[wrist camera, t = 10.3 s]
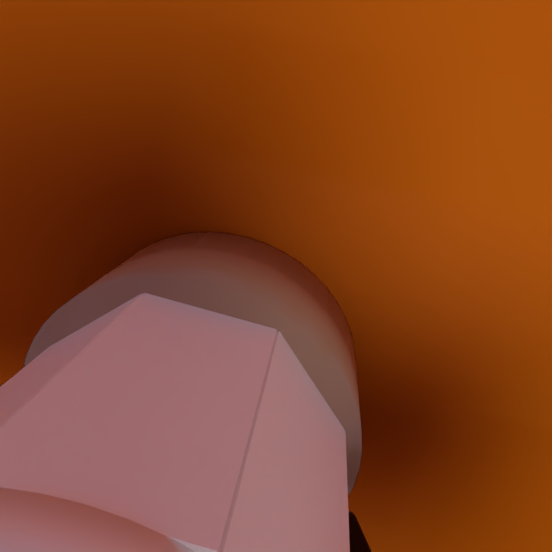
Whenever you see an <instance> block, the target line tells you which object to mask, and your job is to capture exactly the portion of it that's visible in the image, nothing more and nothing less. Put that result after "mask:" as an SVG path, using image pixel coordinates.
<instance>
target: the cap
mask: <svg viewBox="0 0 552 552" xmlns="http://www.w3.org/2000/svg"><path fill="white" fill-rule="evenodd" d="M0 552H350V543H349V514H348V485H347V457H346V433H345V430H344V428H343V427H342V425H341V424H340V422H339V420H338V419H337V417H336V416H335V414H334V413H333V411H332V410H331V408H330V407H329V405H328V404H327V402H326V401H325V399H324V398H323V396H322V395H321V393H320V392H319V390H318V389H317V387H316V386H315V384H314V383H313V381H312V380H311V378H310V377H309V375H308V374H307V372H306V371H305V369H304V368H303V366H302V364H301V363H300V361H299V360H298V358H297V357H296V355H295V354H294V352H293V351H292V349H291V348H290V346H289V345H288V343H287V342H286V340H285V339H284V337H283V336H282V334H281V333H280V331H278V332H277V329H274V328H271V327H267V326H263V325H260V324H256V323H252V322H249V321H245V320H242V319H238V318H234V317H231V316H227V315H224V314H220V313H216V312H213V311H209V310H206V309H202V308H198V307H195V306H191V305H188V304H184V303H180V302H177V301H173V300H170V299H166V298H162V297H159V296H155V295H151V294H148V293H144V294H143V293H141V294H139V295H138V296H136V297H134V298H132V299H131V300H129V301H127V302H126V303H124V304H122V305H120V306H119V307H117V308H115V309H113V310H112V311H110V312H108V313H107V314H105V315H103V316H101V317H100V318H98V319H96V320H94V321H93V322H91V323H89V324H88V325H86V326H84V327H82V328H81V329H79V330H77V331H75V332H74V333H72V334H70V335H69V336H67V337H65V338H63V339H62V340H60V341H58V342H56V343H55V344H53V345H51V346H50V347H48V348H47V349H46V350H45V351H43V352H42V353H41V354H40V355H38V356H37V357H36V358H35V359H34V360H32V361H31V362H30V363H29V364H28V365H26V366H25V367H24V368H23V369H21V370H20V371H19V372H18V373H17V374H15V375H14V376H13V377H12V378H10V379H9V380H8V381H7V382H6V383H4V384H3V385H2V386H1V387H0Z"/></svg>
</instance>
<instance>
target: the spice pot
mask: <svg viewBox="0 0 552 552" xmlns="http://www.w3.org/2000/svg"><path fill="white" fill-rule="evenodd" d="M141 293H143V294H144V293H148V294H151V295H155V296H159V297H162V298H166V299H170V300H173V301H177V302H180V303H184V304H188V305H191V306H195V307H198V308H202V309H206V310H209V311H213V312H216V313H220V314H224V315H227V316H231V317H234V318H238V319H242V320H245V321H249V322H252V323H256V324H260V325H263V326H267V327H271V328H274V329H277V332H278V331H280V333H281V334H282V336H283V337H284V339H285V340H286V342H287V343H288V345H289V346H290V348H291V349H292V351H293V352H294V354H295V355H296V357H297V358H298V360H299V361H300V363H301V364H302V366H303V368H304V369H305V371H306V372H307V374H308V375H309V377H310V378H311V380H312V381H313V383H314V384H315V386H316V387H317V389H318V390H319V392H320V393H321V395H322V396H323V398H324V399H325V401H326V402H327V404H328V405H329V407H330V408H331V410H332V411H333V413H334V414H335V416H336V417H337V419H338V420H339V422H340V424H341V425H342V427H343V428H344V430H345V433H346V457H347V485H348V495H349V494H350V492H351V490H352V488H353V486H354V484H355V481H356V478H357V475H358V472H359V469H360V462H361V455H362V430H361V418H360V407H359V395H358V383H357V371H356V359H355V350H354V344H353V339H352V335H351V332H350V329H349V326H348V323H347V320H346V318H345V316H344V314H343V312H342V310H341V308H340V306H339V304H338V303H337V301H336V300H335V299H334V297H333V296H332V294H331V293H330V292H329V290H328V289H327V288H326V287H325V286H324V284H323V283H322V282H321V281H320V280H319V279H318V278H317V277H316V276H315V275H314V274H313V273H312V272H311V271H309V270H308V269H307V268H306V267H305V266H303V265H302V264H301V263H300V262H298V261H297V260H295V259H293V258H292V257H290V256H289V255H287V254H286V253H284V252H282V251H280V250H278V249H276V248H274V247H272V246H270V245H267V244H265V243H262V242H259V241H256V240H253V239H250V238H247V237H243V236H238V235H233V234H228V233H215V232H200V233H188V234H183V235H178V236H173V237H169V238H166V239H164V240H161V241H158V242H155V243H153V244H151V245H149V246H147V247H146V248H144V249H142V250H140V251H138V252H137V253H136V254H134V255H133V256H131V257H130V258H129V259H127V260H126V261H124V262H123V263H121V264H120V265H119V266H117V267H116V268H114V269H113V270H112V271H110V272H109V273H107V274H106V275H105V276H103V277H102V278H100V279H99V280H97V281H96V282H95V283H93V284H92V285H90V286H89V287H88V288H86V289H85V290H83V291H82V292H81V293H79V294H78V295H76V296H75V297H73V298H72V299H71V300H69V301H68V302H67V303H65V304H64V305H63V306H61V307H60V308H59V309H57V310H56V311H55V312H54V313H53V314H52V315H51V316H50V318H49V319H48V320H47V321H46V322H45V323H44V324H43V325H42V327H41V328H40V330H39V331H38V333H37V334H36V336H35V337H34V339H33V341H32V343H31V346H30V348H29V350H28V353H27V355H26V359H25V363H24V367H25V366H26V365H28V364H29V363H30V362H31V361H32V360H34V359H35V358H36V357H37V356H38V355H40V354H41V353H42V352H43V351H45V350H46V349H47V348H48V347H50V346H51V345H53V344H55V343H56V342H58V341H60V340H62V339H63V338H65V337H67V336H69V335H70V334H72V333H74V332H75V331H77V330H79V329H81V328H82V327H84V326H86V325H88V324H89V323H91V322H93V321H94V320H96V319H98V318H100V317H101V316H103V315H105V314H107V313H108V312H110V311H112V310H113V309H115V308H117V307H119V306H120V305H122V304H124V303H126V302H127V301H129V300H131V299H132V298H134V297H136V296H138V295H139V294H141Z"/></svg>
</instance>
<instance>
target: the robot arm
mask: <svg viewBox="0 0 552 552" xmlns="http://www.w3.org/2000/svg"><path fill="white" fill-rule="evenodd" d="M348 514H349V543H350V552H371V550H370V547H369V545H368V543H367V541H366V538H365V536H364V534H363V532H362V530H361V527H360V525H359V523H358V521H357V518H356V516H355V515H354V514H353V513H352V512H351V511H348Z"/></svg>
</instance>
